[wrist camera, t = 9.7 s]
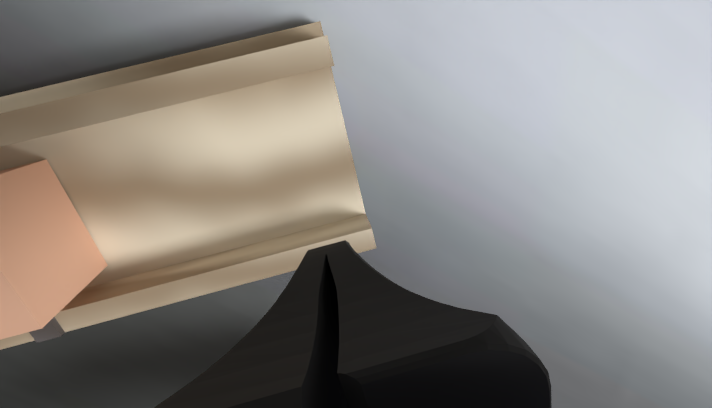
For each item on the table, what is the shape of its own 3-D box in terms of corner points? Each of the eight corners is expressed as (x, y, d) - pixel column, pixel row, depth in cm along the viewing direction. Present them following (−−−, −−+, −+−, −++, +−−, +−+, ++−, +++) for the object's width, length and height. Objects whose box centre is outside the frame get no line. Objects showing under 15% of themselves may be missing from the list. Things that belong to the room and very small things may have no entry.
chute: (369, 236, 21) (380, 263, 18) (-25, 342, 20) (-84, 390, 17) (319, 24, 17) (322, 13, 14) (-189, 144, 16) (-307, 161, 13)
